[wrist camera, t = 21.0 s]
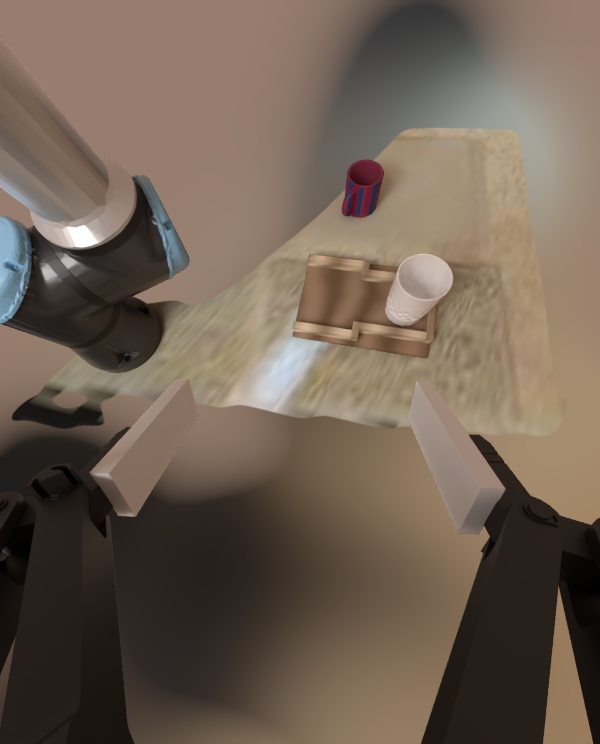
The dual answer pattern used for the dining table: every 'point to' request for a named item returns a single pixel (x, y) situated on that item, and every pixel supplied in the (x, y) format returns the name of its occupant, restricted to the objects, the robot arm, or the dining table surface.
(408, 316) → the white cup
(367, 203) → the mug
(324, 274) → the wooden tray
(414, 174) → the dining table surface
